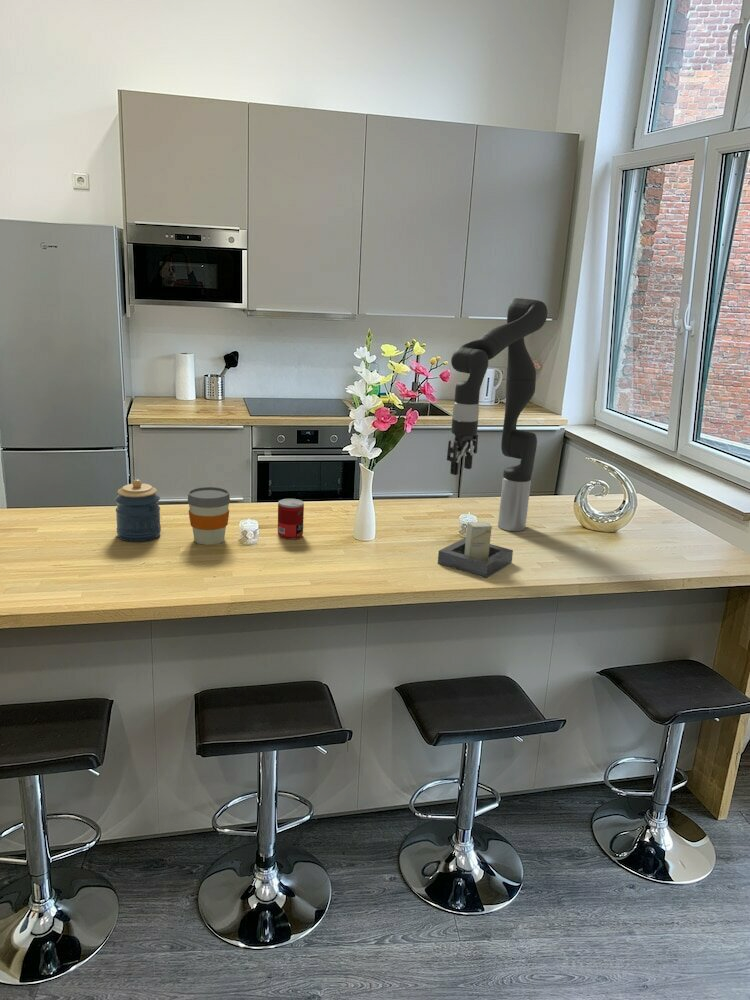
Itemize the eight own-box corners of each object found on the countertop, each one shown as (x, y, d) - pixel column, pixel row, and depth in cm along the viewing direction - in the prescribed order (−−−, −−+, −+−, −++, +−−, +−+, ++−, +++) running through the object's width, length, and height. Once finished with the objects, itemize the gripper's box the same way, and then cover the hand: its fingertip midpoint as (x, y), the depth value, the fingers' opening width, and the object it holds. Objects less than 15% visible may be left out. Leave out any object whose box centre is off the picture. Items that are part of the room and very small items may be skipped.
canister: (154, 543, 231) (152, 486, 226) (110, 541, 231) (107, 484, 226) (166, 529, 244) (164, 475, 238) (124, 527, 244) (122, 472, 238)
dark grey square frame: (464, 549, 240) (465, 537, 239) (511, 562, 231) (513, 550, 230) (437, 563, 228) (438, 550, 227) (486, 578, 219) (487, 565, 218)
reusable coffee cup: (235, 534, 242) (235, 488, 238) (223, 548, 230) (223, 500, 226) (195, 531, 243) (195, 485, 239) (182, 545, 231) (181, 496, 227)
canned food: (301, 540, 241) (302, 506, 237) (275, 538, 241) (276, 505, 237) (304, 532, 248) (305, 499, 245) (279, 530, 248) (279, 497, 245)
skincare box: (468, 566, 227) (472, 526, 224) (463, 560, 231) (466, 521, 228) (488, 565, 229) (492, 526, 225) (482, 559, 233) (486, 521, 229)
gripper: (465, 412, 234) (461, 464, 238) (441, 419, 222) (438, 473, 227) (487, 416, 230) (483, 469, 235) (465, 423, 218) (460, 478, 223)
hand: (461, 471), depth 231 cm, fingers open, 8 cm apart
